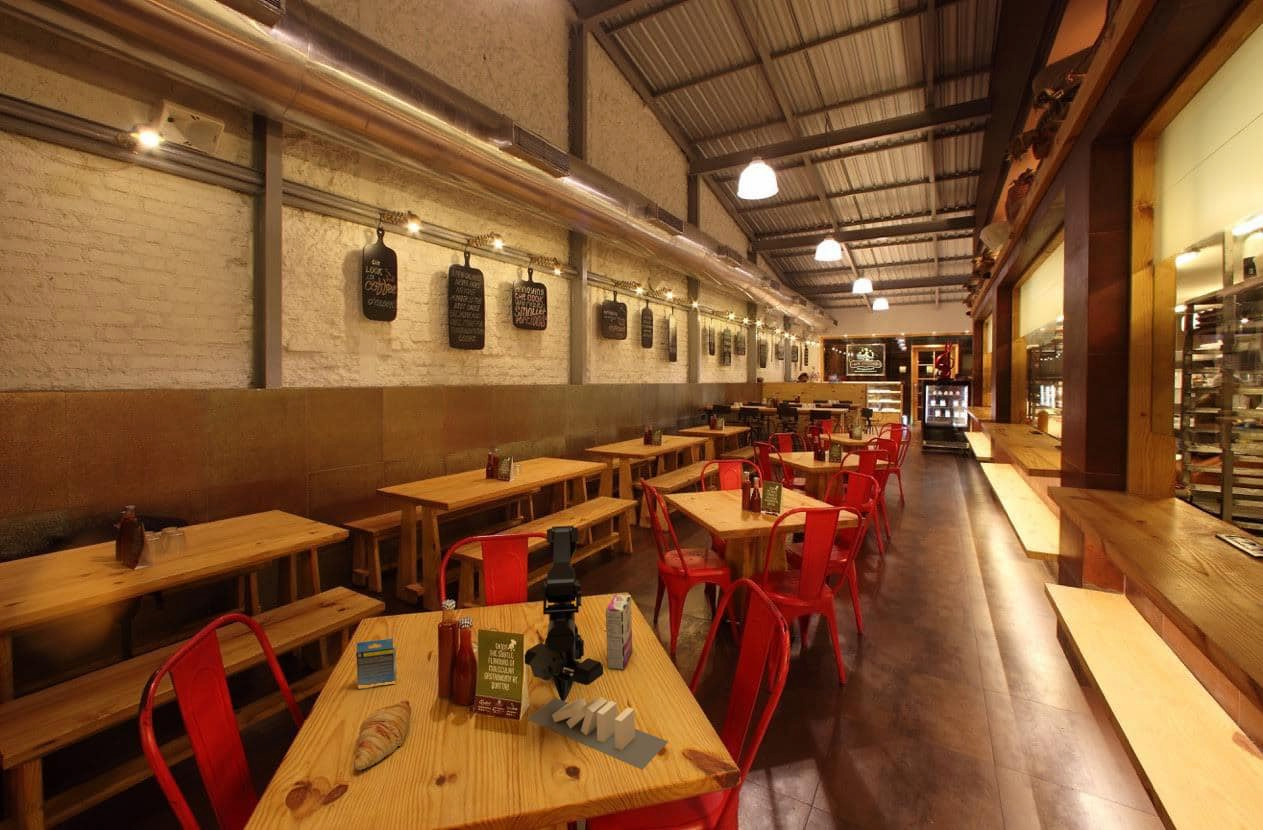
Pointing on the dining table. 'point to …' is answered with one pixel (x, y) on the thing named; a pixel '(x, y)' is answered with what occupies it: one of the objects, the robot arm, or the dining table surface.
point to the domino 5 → (624, 728)
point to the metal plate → (632, 753)
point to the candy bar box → (619, 631)
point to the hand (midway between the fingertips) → (563, 699)
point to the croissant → (382, 734)
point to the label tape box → (376, 662)
